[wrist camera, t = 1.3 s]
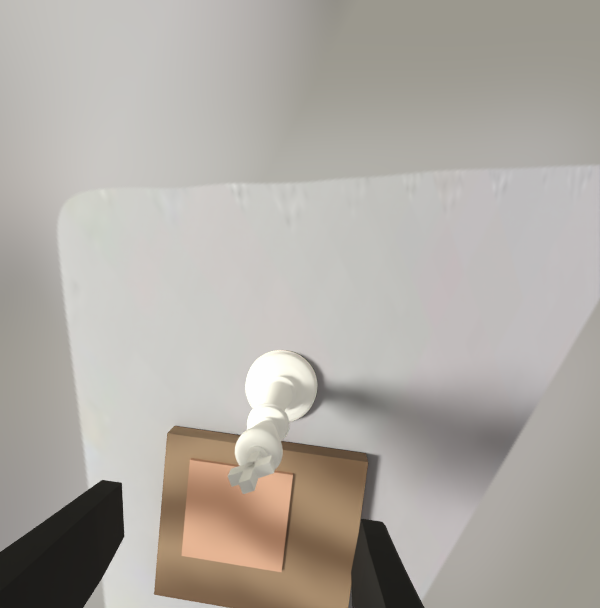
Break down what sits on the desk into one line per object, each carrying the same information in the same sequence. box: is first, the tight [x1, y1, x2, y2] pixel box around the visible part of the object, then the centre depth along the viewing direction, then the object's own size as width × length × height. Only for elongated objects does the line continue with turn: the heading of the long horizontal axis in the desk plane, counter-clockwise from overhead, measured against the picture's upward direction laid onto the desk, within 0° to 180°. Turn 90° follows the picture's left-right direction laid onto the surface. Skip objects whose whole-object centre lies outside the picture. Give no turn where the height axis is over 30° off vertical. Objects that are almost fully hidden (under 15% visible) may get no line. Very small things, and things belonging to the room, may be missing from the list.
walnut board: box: [154, 426, 368, 608], centre depth 20 cm, size 12×14×1 cm
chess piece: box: [228, 350, 317, 494], centre depth 15 cm, size 5×5×10 cm
